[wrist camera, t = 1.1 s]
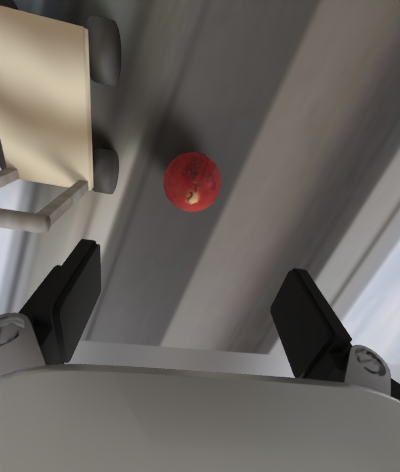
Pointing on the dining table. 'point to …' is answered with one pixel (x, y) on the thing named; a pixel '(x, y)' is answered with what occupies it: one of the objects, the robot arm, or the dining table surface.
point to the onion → (192, 181)
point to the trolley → (53, 108)
